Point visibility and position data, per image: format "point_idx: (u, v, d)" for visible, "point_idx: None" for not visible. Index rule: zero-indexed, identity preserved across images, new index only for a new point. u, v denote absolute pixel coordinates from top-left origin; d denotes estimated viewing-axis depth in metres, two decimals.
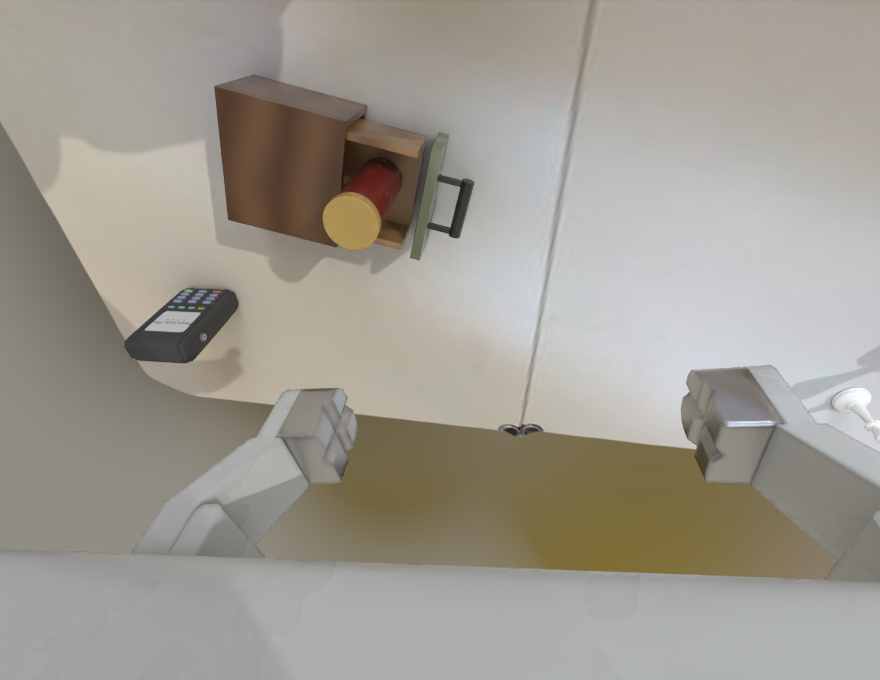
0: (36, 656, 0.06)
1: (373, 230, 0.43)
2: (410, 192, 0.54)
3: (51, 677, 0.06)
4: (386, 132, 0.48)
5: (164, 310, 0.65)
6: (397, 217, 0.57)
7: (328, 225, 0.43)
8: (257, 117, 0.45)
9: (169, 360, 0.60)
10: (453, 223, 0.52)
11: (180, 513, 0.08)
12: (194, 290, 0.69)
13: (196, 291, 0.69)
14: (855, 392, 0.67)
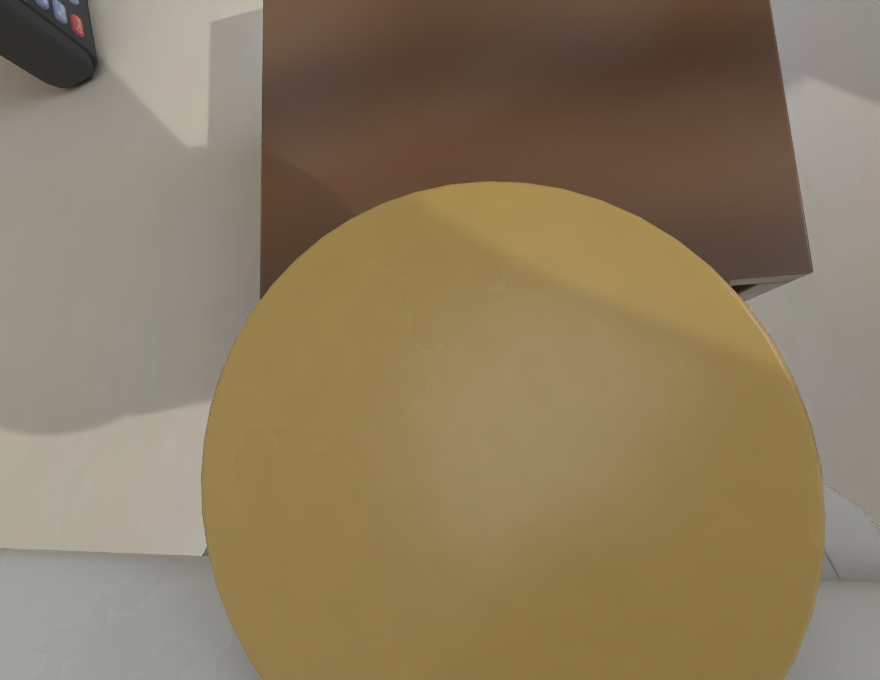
0: (35, 658, 0.06)
1: None
2: None
3: (51, 677, 0.06)
4: None
5: None
6: None
7: (380, 253, 0.04)
8: None
9: None
10: None
11: None
12: None
13: None
14: None
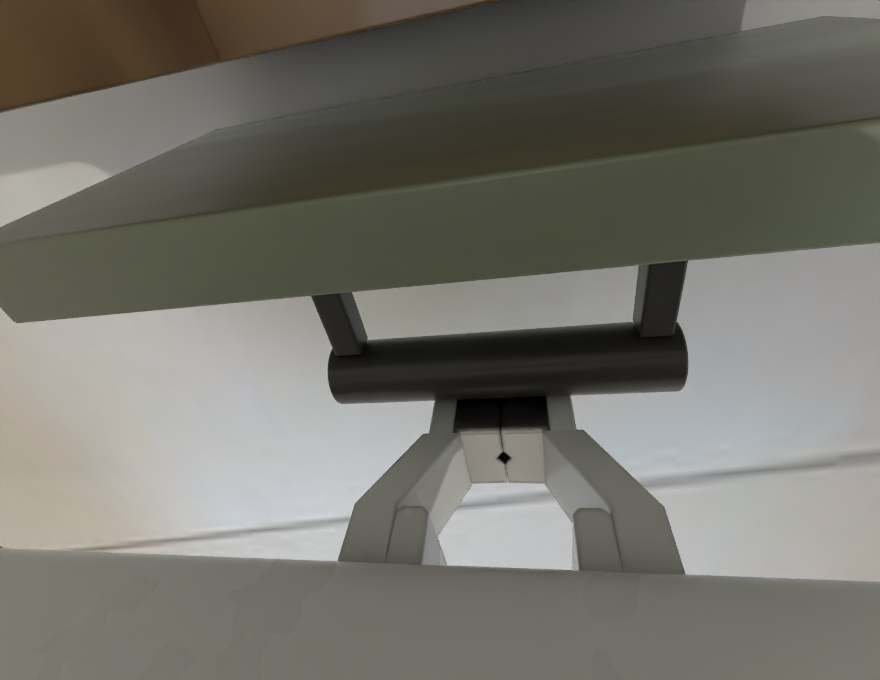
0: (35, 657, 0.06)
1: None
2: None
3: (51, 677, 0.06)
4: None
5: None
6: None
7: None
8: None
9: None
10: (407, 367, 0.09)
11: (380, 516, 0.07)
12: None
13: None
14: None
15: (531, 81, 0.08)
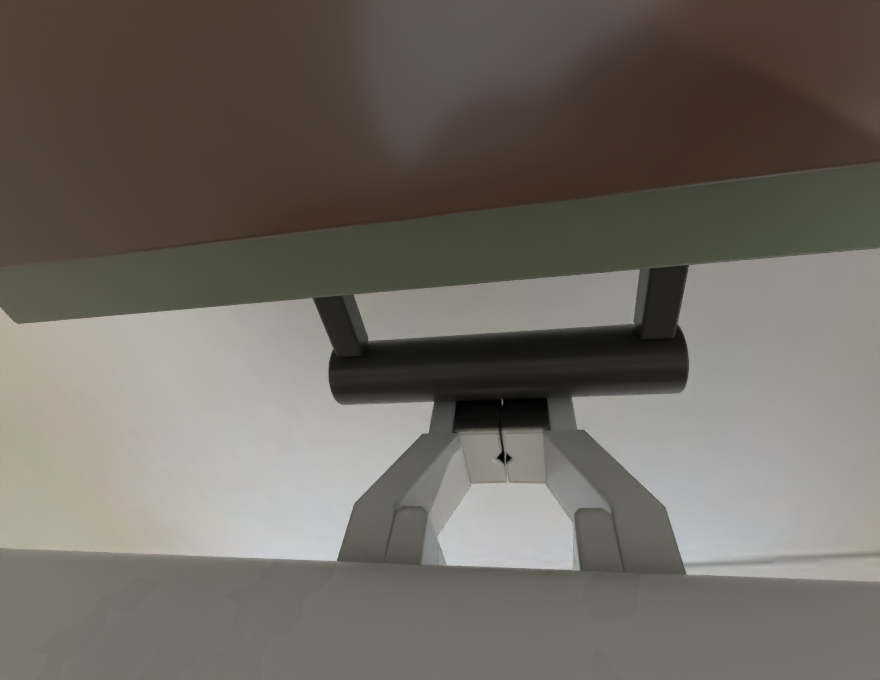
0: (35, 658, 0.06)
1: None
2: None
3: (51, 676, 0.06)
4: None
5: None
6: None
7: None
8: None
9: None
10: (408, 368, 0.09)
11: (379, 516, 0.07)
12: None
13: None
14: None
15: None
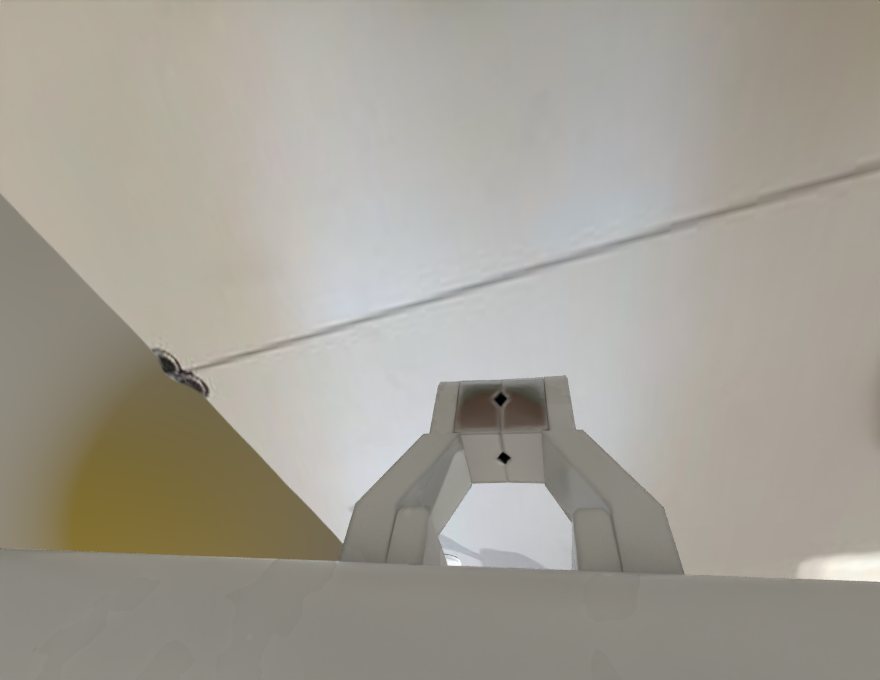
0: (35, 658, 0.06)
1: None
2: None
3: (52, 676, 0.06)
4: None
5: None
6: None
7: None
8: None
9: None
10: None
11: (380, 516, 0.07)
12: None
13: None
14: (455, 563, 0.73)
15: None
